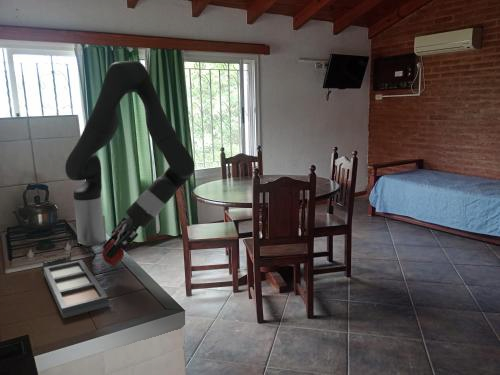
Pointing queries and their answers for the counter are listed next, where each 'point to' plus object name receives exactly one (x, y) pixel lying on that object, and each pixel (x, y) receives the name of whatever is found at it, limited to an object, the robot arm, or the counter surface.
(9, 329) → the counter surface
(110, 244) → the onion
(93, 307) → the keypad
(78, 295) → the terracotta key
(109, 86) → the robot arm
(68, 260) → the phone
